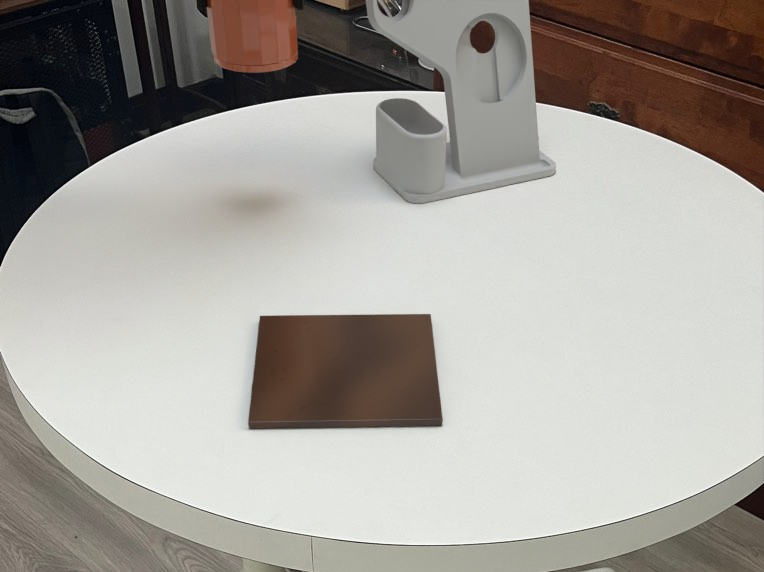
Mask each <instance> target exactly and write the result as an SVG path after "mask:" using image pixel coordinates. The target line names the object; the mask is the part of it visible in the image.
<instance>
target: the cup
mask: <svg viewBox="0 0 764 572" xmlns="http://www.w3.org/2000/svg"><path fill="white" fill-rule="evenodd" d="M206 5H207V7H206V14H207V24H208V31H209V40H210V50H211V53H212V60H213V62H214V63H215V64H216V65H217V66H219V67H221V68H223V69H226V70H229V71H233V72H239V73H251V74H252V73H253V74H254V73H255V74H256V73H269V72H275V71H279V70H283V69H285V68H288V67H290V66H292V65H293V64H295V63H296V62H297V60H298V59H299V41H298V40H299V39H298V25H297V24H298V23H297V21H298V20H297V8H295V1H294V0H206Z"/></svg>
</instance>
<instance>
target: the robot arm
mask: <svg viewBox="0 0 764 572" xmlns="http://www.w3.org/2000/svg"><path fill="white" fill-rule="evenodd" d="M294 1H295V8H296V11H304V10H305V9H304V7H305V0H294ZM195 2H196V9H197V11H205V9H207V5H206V0H195Z"/></svg>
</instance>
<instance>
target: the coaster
mask: <svg viewBox="0 0 764 572" xmlns="http://www.w3.org/2000/svg"><path fill="white" fill-rule="evenodd" d="M434 340H435V339H434V332H433V323H432V314H431V313H389V314H388V313H387V314H386V313H385V314H382V313H381V314H375V313H374V314H291V315H284V314H283V315H281V314H280V315H259V319H258V328H257V339H256V348H255V357H254V365H253V373H252V374H253V375H252V384H251V393H250V402H249V411H248V421H247V425H248V429H292V428H293V429H298V428H299V429H305V428H308V429H310V428H312V429H313V428H369V427H370V428H371V427H379V428H380V427H439V426H440V427H441V426H443V421H444V420H443V419H444V418H443V412H442V411H443V410H442V402H441V401H442V400H441V393H440V383H439V376H438V365H437V358H436V357H437V356H436V349H435V348H436V347H435V341H434Z"/></svg>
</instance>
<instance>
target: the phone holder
mask: <svg viewBox="0 0 764 572" xmlns="http://www.w3.org/2000/svg"><path fill="white" fill-rule="evenodd" d="M529 3H530V2H529V0H402V2H401V7H400V10H398V11H399V12H398V13H397V14H396V15H394V16H387V15H385V14H384V13H382V11H381V10H380V8H379V5H378V0H365V8H366V15H367V19H368V22H369V24H370V25H371V27H372V29H374V30H375V31H376V32H378V33H379V34H381V35H382V36H383V37H385V38H387V39H389V40H390V41H392V42H393V43H395V44H396V45H398V46H400V47H401V48H403V49H404V50H406V51H407V52H409V53H410V54H412V55H413V56H415V57H416V58H418V59H420V60H422V61H423V62H425V63H426V64H427V65H429V66H431V67H432V68H434V69H435V70H437V71H438V73H440V75H441V77H442V79H443V87H444V97H445V106H446V116H447V126H448V129H447V126H446V125H445V124H444V123H443V122H442V121H440V119H438V118H437V117H436V116H435V115H433V114H432V113H431V112H429V110H428V109H426V108H425V107H423V106H422V105H421V104H420V103H419V102H417V101H415V100H412V99H408V98H403V97H402V98H400V97H399V98H398V97H395V98H388V99H384V100H382V101H380V102H379V103H377V105H376V108H375V158H374V159H373V170H374V172H376V173H377V174H378V175H379V176H380V177H381V178H382V179H383V180H384V181H385V182H386V183H388V184H389V185H390V187H392V189H394V191H396V192H397V193H398V194H399V196H400V197H402V198H403V199H404V200H405V201H406V202H409V203H411V204H427V203H431V202H434V201H435V202H436V201H440V200H444V199H449V198H453V197H458V196H459V197H460V196H463V195H468V194H471V193H472V194H473V193H477V192H481V191H486V190H491V189H496V188H500V187H506V186H510V185H514V184H519V183H524V182H528V181H533V180H537V179H543V178H546V177H551V176H553V175H555V174H556V168H557V163H556V162H555V161H554V160H553V159H552V158H550V157H549V155H546V154H545V153H544V152H542V151H541V150H540V141H539V140H540V139H539V127H538V113H537V101H536V87H535V85H536V84H535V71H534V58H533V43H532V32H531V31H532V30H531V15H530V4H529ZM483 21H484V22H487V23H488V24H489V25H490V26H491V27H492V29H493V32H494V43H493V46H492V47H491V49H489V51H487V52H485V53H481V52H478V51H477V49H476V48H475V47H473V45H472V43H471V32H472V29H473V28H475V26H476V25H477V24H478V23H480V22H483ZM447 133H448V134H449V141H448V142H447V136H448V135H447Z"/></svg>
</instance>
